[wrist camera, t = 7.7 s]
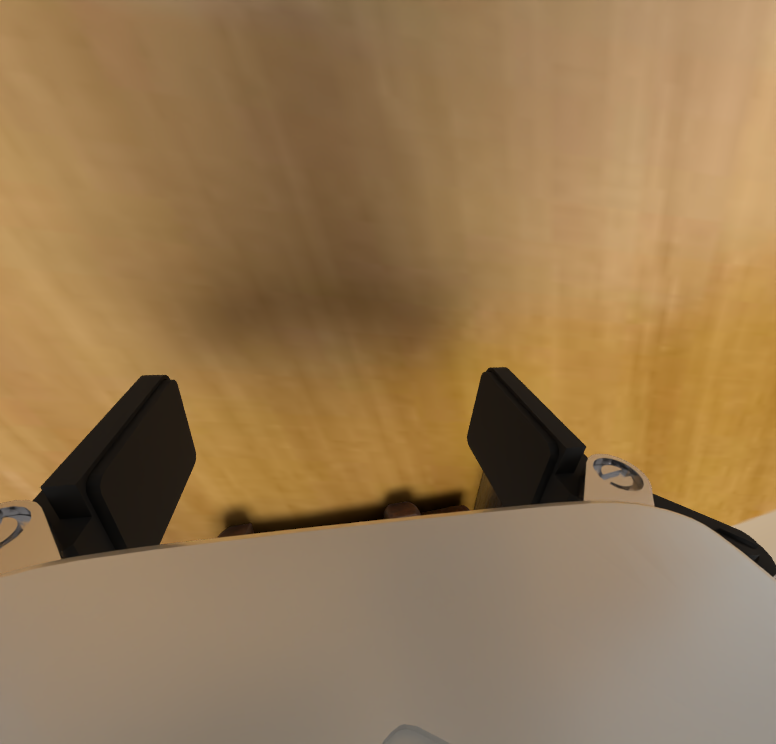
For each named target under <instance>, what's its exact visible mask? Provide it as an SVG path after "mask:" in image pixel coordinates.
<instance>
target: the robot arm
mask: <svg viewBox="0 0 776 744" xmlns="http://www.w3.org/2000/svg"><path fill="white" fill-rule="evenodd" d="M467 441H468V445H469V447H470V448H471V450H472V452H473V454H474V456H475V457H476V459H477V461H478V463H479V464H480V466H481V468H482V470H483V472H484V473H485V475H486V477H487V479H488V480H489V482H490V484H491V486H492V487H493V489H494V491H495V493H496V495H497V496H498V498H499V500H500V502H501V503H502V505H503V507H501V508H491V509H481V510H471V511H461V512H451V513H441V514H432V515H422V516H412V517H403V518H394V519H384V520H375V521H365V522H356V523H347V524H337V525H328V526H319V527H310V528H301V529H292V530H283V531H274V532H265V533H256V534H247V535H238V536H230V537H221V538H212V539H203V540H194V541H186V542H178V543H170V544H161V545H159V544H160V542H161V540H162V538H163V535H164V533H165V531H166V528H167V526H168V524H169V522H170V519H171V517H172V515H173V512H174V510H175V508H176V506H177V503H178V501H179V499H180V497H181V494H182V492H183V490H184V487H185V485H186V483H187V481H188V478H189V476H190V474H191V471H192V469H193V467H194V464H195V461H196V451H195V447H194V444H193V440H192V436H191V432H190V429H189V425H188V421H187V418H186V414H185V410H184V406H183V403H182V399H181V395H180V392H179V388H178V384H177V382H176V381H175V380H170V378H169V377H168V376H167V375H144V376H141V377H140V378H139V379H138V380H137V381H136V382H135V384H134V385H133V386H132V387H131V388H130V389H129V390H128V391H127V392H126V393H125V395H124V396H123V397H122V398H121V399H120V400H119V401H118V402H117V403H116V404H115V406H114V407H113V408H112V409H111V410H110V411H109V412H108V413H107V414H106V415H105V417H104V418H103V419H102V420H101V421H100V422H99V423H98V424H97V425H96V426H95V428H94V429H93V430H92V431H91V432H90V433H89V434H88V435H87V436H86V437H85V439H84V440H83V441H82V442H81V443H80V444H79V445H78V446H77V447H76V448H75V450H74V451H73V452H72V453H71V454H70V455H69V456H68V457H67V458H66V459H65V461H64V462H63V463H62V464H61V465H60V466H59V467H58V468H57V469H56V470H55V472H54V473H53V474H52V475H51V476H50V477H49V478H48V479H47V480H46V481H45V483H44V484H43V485H42V486H41V489H42V491H41V492H40V493H39V494H38V495H37V497H36V498H35V499H34V500H33V501H30V500H14V501H9V502H4V503H0V744H776V565H775V563H774V561H773V560H772V557H771V556H770V555H769V554H768V553H767V552H766V551H765V550H764V548H762V547H761V546H760V545H759V544H757V543H756V541H755V540H754V539H752V538H751V537H750V536H749V535H747V534H746V533H744V532H742V531H740V530H738V529H736V528H733V527H731V526H729V525H726V524H724V523H722V522H719V521H717V520H714V519H712V518H710V517H707V516H705V515H703V514H700V513H698V512H695V511H693V510H691V509H688V508H686V507H683V506H681V505H679V504H676V503H674V502H672V501H669V500H667V499H664V498H662V497H660V496H657V495H655V494H652V488H651V484H650V482H649V479H648V478H647V477H646V476H645V475H644V473H643V472H641V471H640V470H639V469H638V468H637V467H635V466H634V465H632V464H630V463H629V462H627V461H625V460H623V459H620V458H618V457H615V456H611V455H607V454H595V455H592V456H590V457H589V458H587V457H586V456H585V455H584V450H585V448H586V446H585V445H584V444H583V443H582V442H581V441H580V440H579V439H578V438H577V437H576V436H575V435H574V434H573V433H572V432H571V431H570V430H569V429H568V428H567V427H566V426H565V425H564V424H563V423H562V422H561V421H560V420H559V419H558V418H557V417H556V416H555V415H554V414H553V413H552V412H551V411H550V410H549V409H548V408H547V407H546V406H545V405H544V404H543V403H542V402H541V401H540V400H539V399H538V398H537V397H536V396H535V395H534V394H533V393H532V392H531V391H530V390H529V389H528V388H527V387H526V386H525V385H524V384H523V383H522V382H521V381H520V380H519V379H518V378H517V377H516V376H515V375H514V374H513V373H512V372H511V371H510V370H509V369H508V368H506V367H499V368H488V369H487V371H486V372H484V373H483V374H482V376H481V379H480V383H479V388H478V392H477V396H476V400H475V405H474V409H473V413H472V417H471V421H470V426H469V430H468V434H467Z"/></svg>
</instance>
